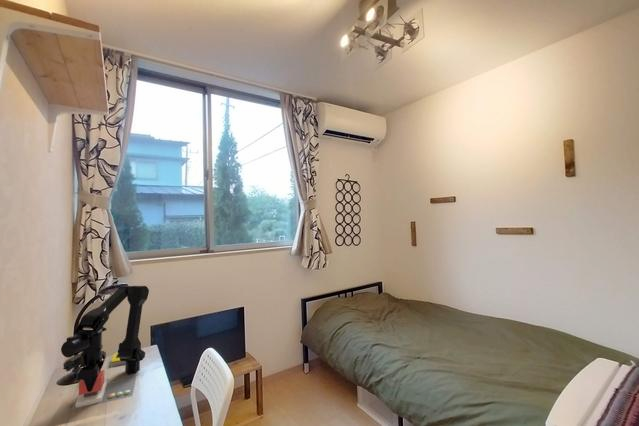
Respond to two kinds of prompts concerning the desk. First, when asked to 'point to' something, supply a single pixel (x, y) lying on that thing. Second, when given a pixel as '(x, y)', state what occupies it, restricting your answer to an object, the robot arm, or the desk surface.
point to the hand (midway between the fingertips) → (91, 386)
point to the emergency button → (116, 361)
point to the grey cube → (90, 394)
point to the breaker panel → (107, 393)
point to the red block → (97, 385)
